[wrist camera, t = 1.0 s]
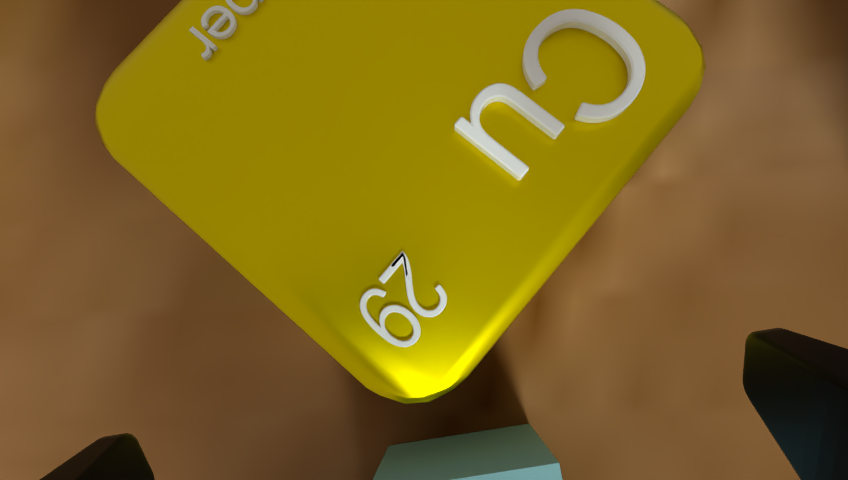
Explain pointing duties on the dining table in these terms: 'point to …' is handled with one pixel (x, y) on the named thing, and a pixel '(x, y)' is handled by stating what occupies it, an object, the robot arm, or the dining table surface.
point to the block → (472, 457)
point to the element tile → (398, 155)
